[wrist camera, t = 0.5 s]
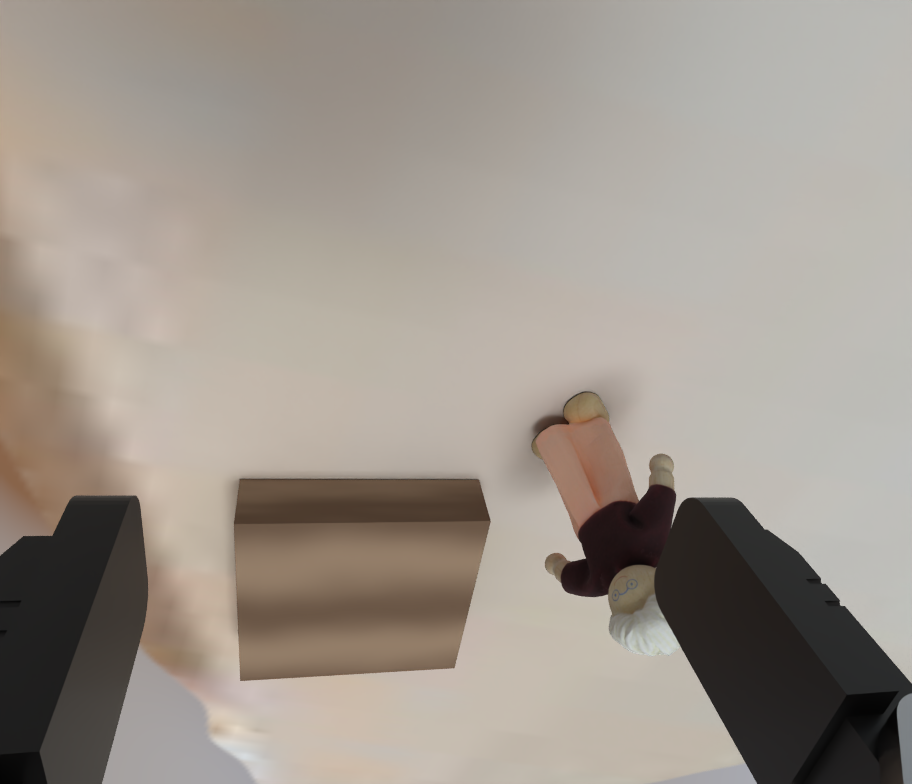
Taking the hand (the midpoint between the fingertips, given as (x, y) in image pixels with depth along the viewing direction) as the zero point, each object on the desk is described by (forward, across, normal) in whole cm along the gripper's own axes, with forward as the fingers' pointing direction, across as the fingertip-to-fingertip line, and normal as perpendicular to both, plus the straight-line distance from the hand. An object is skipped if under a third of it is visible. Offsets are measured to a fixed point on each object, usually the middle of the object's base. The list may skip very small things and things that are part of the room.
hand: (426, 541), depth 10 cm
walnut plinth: (+21, -1, +20) cm, 29 cm away
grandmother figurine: (+20, -11, +11) cm, 26 cm away
